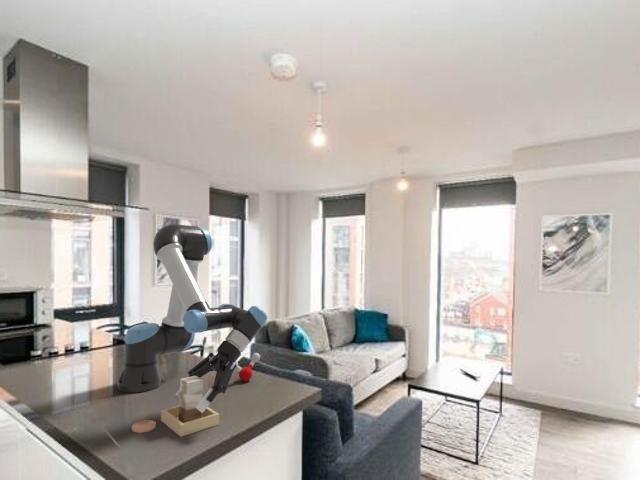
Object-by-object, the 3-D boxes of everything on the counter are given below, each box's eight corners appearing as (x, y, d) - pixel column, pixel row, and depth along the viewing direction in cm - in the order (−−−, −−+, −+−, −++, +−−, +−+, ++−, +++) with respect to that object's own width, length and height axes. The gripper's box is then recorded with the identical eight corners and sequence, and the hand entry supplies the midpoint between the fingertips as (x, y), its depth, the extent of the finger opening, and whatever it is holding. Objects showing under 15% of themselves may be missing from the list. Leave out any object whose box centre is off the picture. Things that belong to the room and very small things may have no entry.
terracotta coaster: (126, 433, 106) (127, 428, 106) (139, 423, 113) (139, 419, 113) (148, 434, 106) (148, 430, 106) (159, 424, 112) (160, 420, 112)
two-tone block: (178, 421, 114) (180, 378, 114) (193, 417, 117) (195, 375, 118) (185, 427, 110) (187, 382, 111) (201, 422, 114) (203, 379, 114)
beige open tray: (160, 421, 114) (161, 409, 114) (197, 411, 123) (197, 400, 123) (180, 438, 104) (181, 425, 105) (218, 425, 113) (219, 413, 113)
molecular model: (251, 374, 164) (252, 351, 165) (262, 376, 162) (263, 352, 162) (226, 385, 148) (227, 360, 149) (238, 388, 146) (239, 362, 146)
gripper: (261, 361, 117) (216, 423, 106) (220, 346, 135) (178, 398, 123) (248, 346, 114) (200, 409, 102) (207, 333, 131) (163, 385, 120)
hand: (188, 403), depth 113 cm, fingers open, 13 cm apart
